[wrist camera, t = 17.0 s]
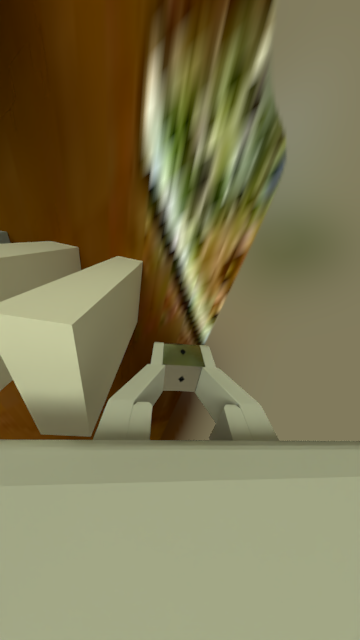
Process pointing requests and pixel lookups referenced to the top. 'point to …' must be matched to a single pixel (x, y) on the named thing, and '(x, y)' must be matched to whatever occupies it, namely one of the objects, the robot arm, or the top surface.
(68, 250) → the domino
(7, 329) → the domino
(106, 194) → the top surface
